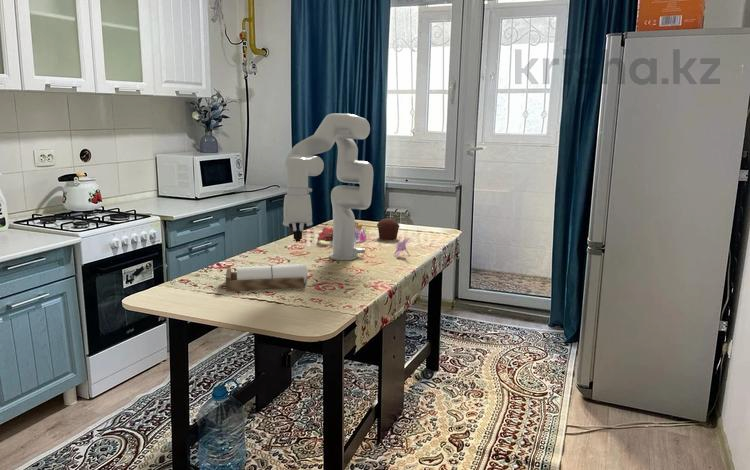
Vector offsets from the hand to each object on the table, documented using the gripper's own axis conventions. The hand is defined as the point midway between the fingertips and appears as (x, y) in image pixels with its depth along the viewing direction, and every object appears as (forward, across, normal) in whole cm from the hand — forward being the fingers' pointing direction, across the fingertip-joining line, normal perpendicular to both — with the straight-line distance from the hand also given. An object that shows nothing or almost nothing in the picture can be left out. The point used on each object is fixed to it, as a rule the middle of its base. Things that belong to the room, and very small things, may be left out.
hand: (297, 240), depth 207 cm
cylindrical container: (+13, -3, 0) cm, 13 cm away
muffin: (+16, -51, -67) cm, 86 cm away
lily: (+16, -49, -32) cm, 61 cm away
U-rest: (+16, +11, 0) cm, 20 cm away
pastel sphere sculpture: (+17, -28, -66) cm, 73 cm away
